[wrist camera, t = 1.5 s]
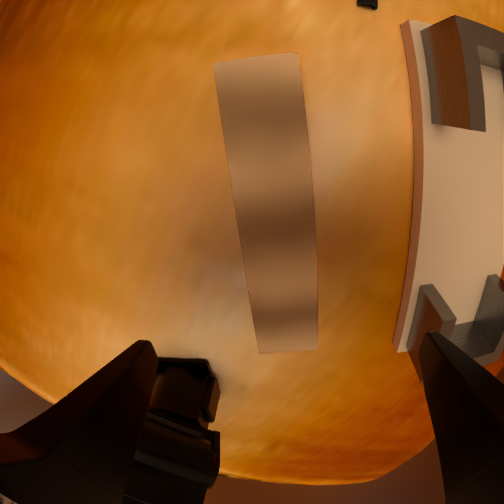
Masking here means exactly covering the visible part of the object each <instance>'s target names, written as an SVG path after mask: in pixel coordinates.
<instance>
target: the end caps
mask: <svg viewBox="0 0 504 504" xmlns="http://www.w3.org/2000/svg"><path fill="white" fill-rule="evenodd" d="M420 33H421V38H422V44H423V49H424V55H425V61H426V68H427V76H428V84H429V94H430V106H431V122H432V124H437V125H444V126H450V127H456V128H462V129H468V130H474V131H481V132H486V119H485V102H484V90H483V81H482V73H481V66H480V64H482V65H485V66H488V67H491V68H494V69H498V70H500V71H501V74H502V82H503V91H504V33H502V32H500V31H498V30H495V29H493V28H490V27H488V26H485V25H483V24H480V23H477V22H474V21H472V20H469V19H466V18H463V17H460V16H456V15H453V16H451V17H449V18H447V19H444V20H442V21H440V22H438V23H436V24H433V25H431V26H429V27H427V28H425V29H423V30H421V31H420ZM456 320H457V318H456V316H455V315H454V313H453V312H452V310H451V309H450V307H449V306H448V305H447V303H446V302H445V300H444V299H443V298H442V296H441V295H440V293H439V292H438V291H437V289H436V288H435V286H434V285H433V284H427V285H420V287H419V292H418V297H417V302H416V307H415V311H414V315H413V320H412V324H411V328H410V332H409V336H408V339H407V343H406V348H407V350H408V353H409V355H410V357H411V360H412V362H413V365H414V367H415V370H416V372H417V375H418V377H419V380H420V382H421V383H423V378H422V372H421V367H420V361H419V356H418V351H419V347H420V345H421V342H422V339H423V336H424V334H425V333H426V332H428V331H438V332H440V333H441V334H442V335H443V336H445V337H446V338H447V339H449V340H450V341H451V342H452V343H454V344H455V345H456V346H457V347H459V348H460V349H461V350H463V351H464V352H465V353H466V354H468V355H469V356H470V357H471V358H473V359H474V360H475V361H476V362H477V363H479V364H480V365H481V366H484V365H486V364H489V363H492V362H495V361H497V360H498V358H499V356H500V354H501V352H502V350H503V348H504V281H503V280H502V279H501V278H500V277H499V276H498V275H497V274H493V275H488V276H487V279H486V283H485V286H484V290H483V293H482V296H481V300H480V303H479V306H478V309H477V312H476V315H475V317H474V320H473V321H470V322H466V323H462V324H457V325H455V323H456Z"/></svg>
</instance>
